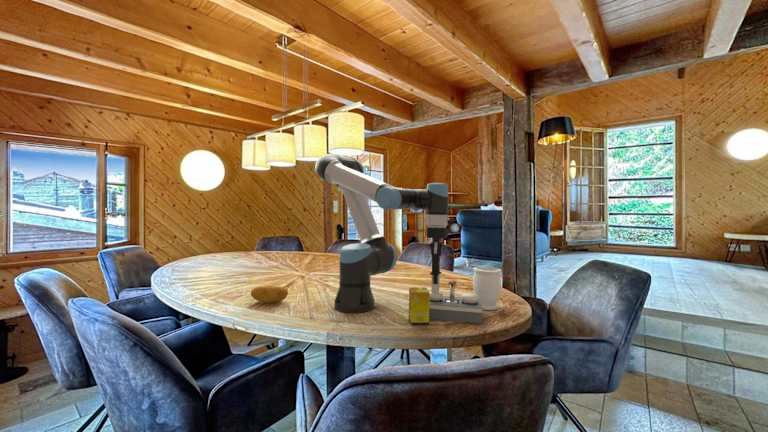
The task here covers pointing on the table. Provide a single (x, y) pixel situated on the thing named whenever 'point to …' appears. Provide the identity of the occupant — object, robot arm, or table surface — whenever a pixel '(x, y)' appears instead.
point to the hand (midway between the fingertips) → (435, 292)
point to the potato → (269, 294)
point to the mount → (456, 311)
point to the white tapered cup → (487, 286)
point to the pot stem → (452, 291)
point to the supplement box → (419, 305)
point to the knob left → (436, 296)
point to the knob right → (469, 298)
